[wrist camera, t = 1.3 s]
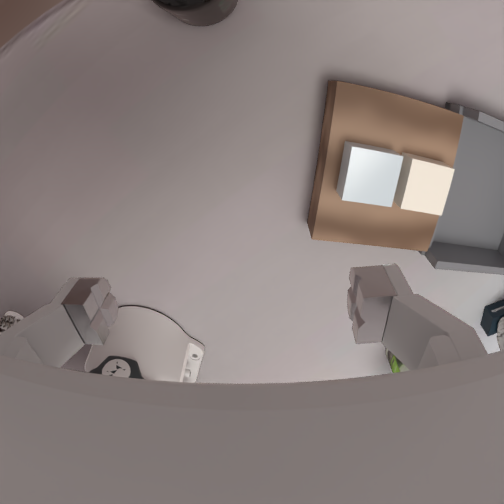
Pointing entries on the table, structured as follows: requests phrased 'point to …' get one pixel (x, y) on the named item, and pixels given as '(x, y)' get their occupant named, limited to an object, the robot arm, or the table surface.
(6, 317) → the decorative candle
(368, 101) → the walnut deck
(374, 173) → the pale blue brick
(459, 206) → the box
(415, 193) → the cream tile
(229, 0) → the supplement bottle
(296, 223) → the table surface
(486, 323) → the watch
